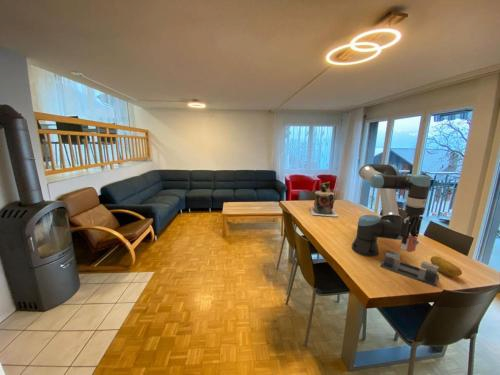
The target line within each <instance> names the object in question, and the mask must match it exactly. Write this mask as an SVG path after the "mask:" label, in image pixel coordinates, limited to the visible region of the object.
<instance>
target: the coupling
mask: <svg viewBox="0 0 500 375" xmlns="http://www.w3.org/2000/svg"><path fill="white" fill-rule="evenodd" d="M400 238H401V239H402V238H403V237H401V236H400ZM408 238H409V242H408V247H407V251H406V252H408V253H411V252H414V251H416V247H417V245H418V244H419V242H420V241H419V240H418V237H416V236H415V237H414V236H411V235H410V234H409V237H408ZM401 243H402V240H400V244H401ZM399 246H400V247H399V248H400V249H401V245H399Z"/></svg>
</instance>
